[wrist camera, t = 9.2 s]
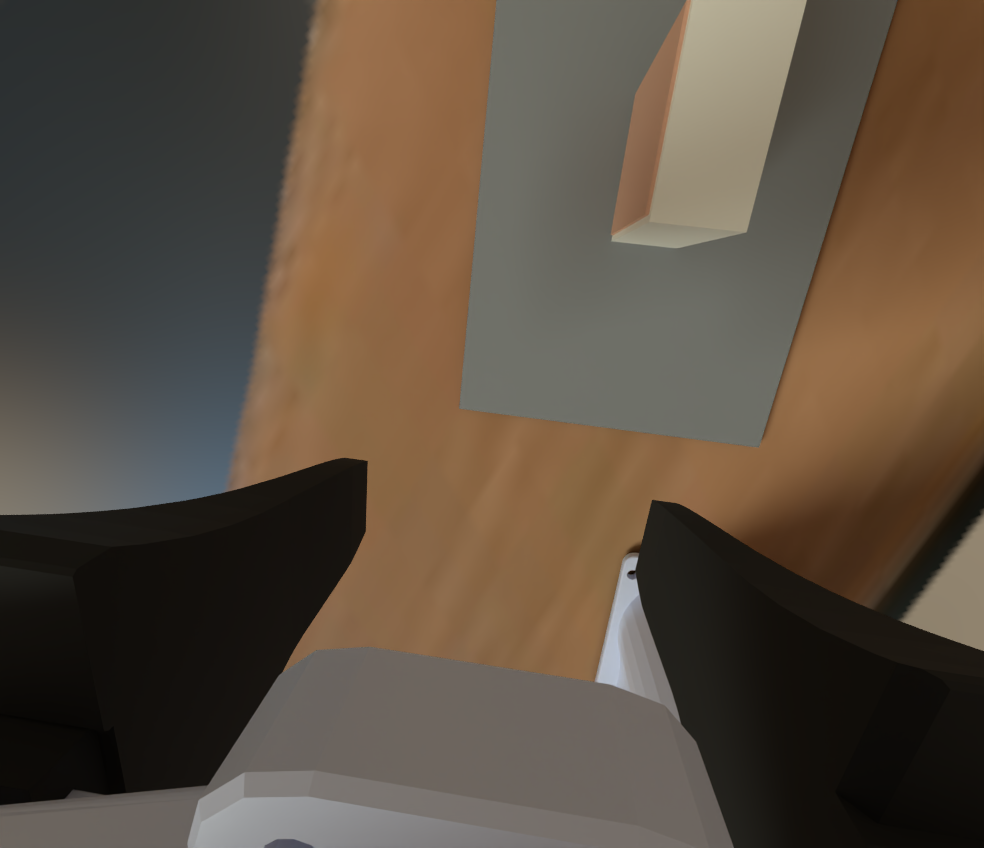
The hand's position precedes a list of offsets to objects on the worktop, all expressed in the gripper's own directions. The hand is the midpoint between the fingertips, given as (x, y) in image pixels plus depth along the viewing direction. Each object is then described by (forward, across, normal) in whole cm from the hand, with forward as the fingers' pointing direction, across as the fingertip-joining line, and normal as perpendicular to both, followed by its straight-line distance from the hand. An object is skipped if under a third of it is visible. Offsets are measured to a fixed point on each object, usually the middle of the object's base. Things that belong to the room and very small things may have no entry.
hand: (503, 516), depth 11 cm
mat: (+9, -4, -9) cm, 14 cm away
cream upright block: (+9, -4, -10) cm, 14 cm away
